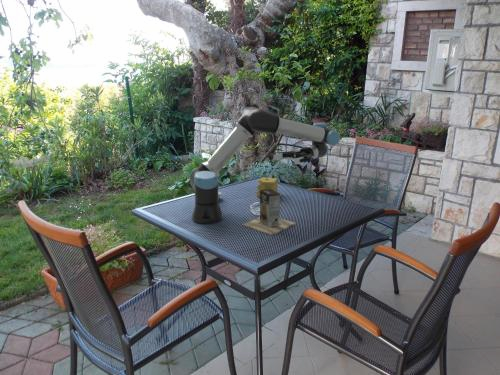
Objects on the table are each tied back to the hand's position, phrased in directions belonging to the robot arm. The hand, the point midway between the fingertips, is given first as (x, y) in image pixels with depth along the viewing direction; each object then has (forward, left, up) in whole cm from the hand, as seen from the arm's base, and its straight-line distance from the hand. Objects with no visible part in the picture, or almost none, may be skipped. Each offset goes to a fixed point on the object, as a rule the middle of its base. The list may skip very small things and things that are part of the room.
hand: (284, 159), depth 205 cm
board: (-19, -6, -28) cm, 35 cm away
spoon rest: (-15, +41, -29) cm, 53 cm away
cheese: (+17, +25, -29) cm, 42 cm away
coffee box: (-19, -6, -28) cm, 34 cm away
